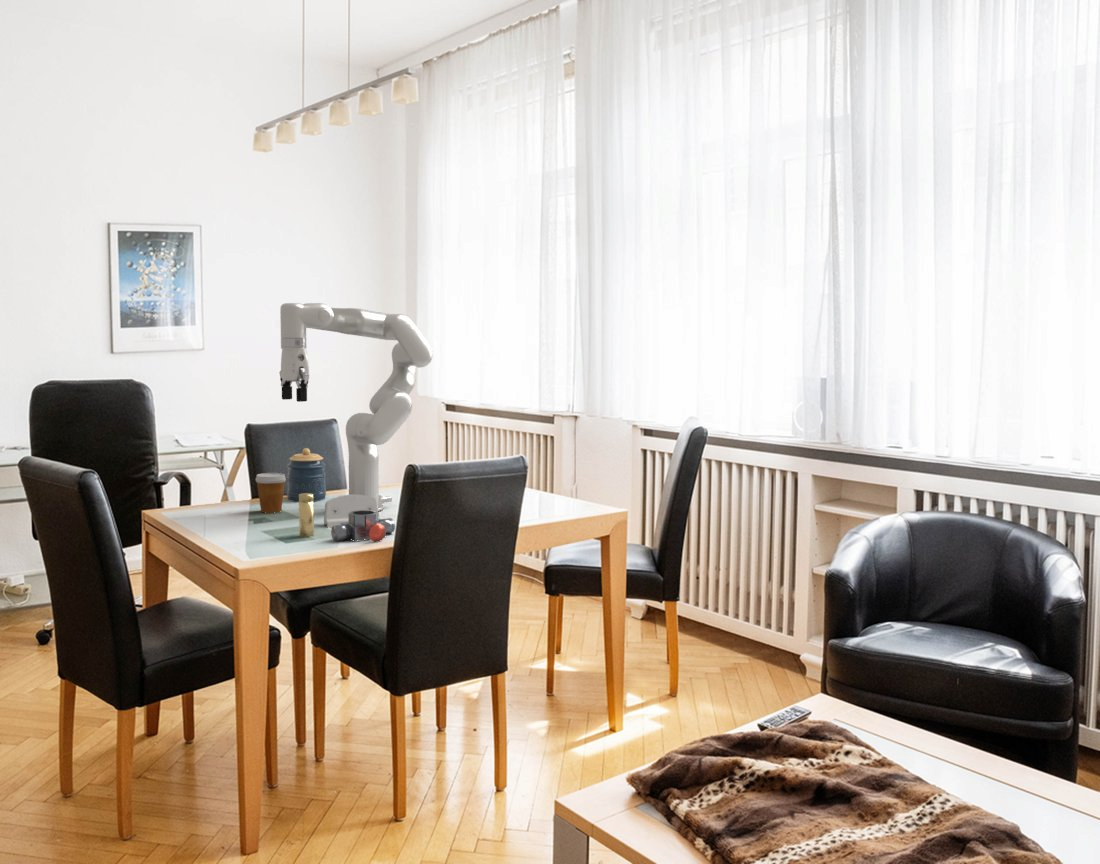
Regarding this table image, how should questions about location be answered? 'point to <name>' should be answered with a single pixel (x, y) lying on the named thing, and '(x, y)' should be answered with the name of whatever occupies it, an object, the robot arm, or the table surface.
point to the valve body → (363, 527)
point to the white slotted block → (347, 508)
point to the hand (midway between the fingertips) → (294, 400)
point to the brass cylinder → (306, 515)
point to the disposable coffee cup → (270, 491)
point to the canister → (306, 476)
